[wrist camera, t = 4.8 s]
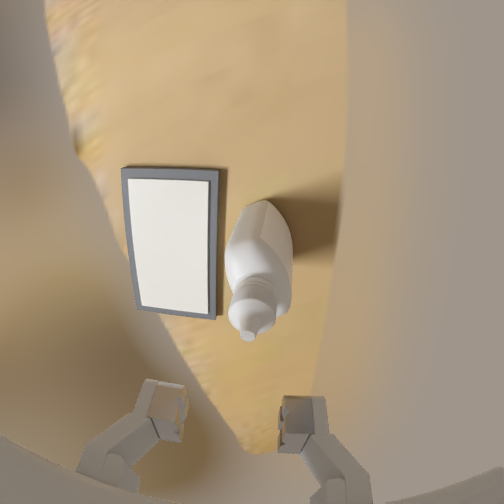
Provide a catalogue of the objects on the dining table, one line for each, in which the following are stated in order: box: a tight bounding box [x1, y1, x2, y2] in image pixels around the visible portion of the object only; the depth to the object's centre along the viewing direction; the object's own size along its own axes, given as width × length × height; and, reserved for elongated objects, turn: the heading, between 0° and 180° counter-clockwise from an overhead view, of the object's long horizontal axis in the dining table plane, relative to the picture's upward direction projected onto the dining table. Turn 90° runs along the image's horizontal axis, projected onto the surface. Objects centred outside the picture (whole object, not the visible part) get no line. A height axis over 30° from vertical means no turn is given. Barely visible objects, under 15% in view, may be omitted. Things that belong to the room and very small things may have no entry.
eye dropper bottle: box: [225, 200, 293, 341], centre depth 19 cm, size 4×6×12 cm
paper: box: [128, 178, 209, 314], centre depth 25 cm, size 12×7×1 cm, turn 176°
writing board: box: [121, 167, 220, 320], centre depth 25 cm, size 14×8×1 cm, turn 176°
